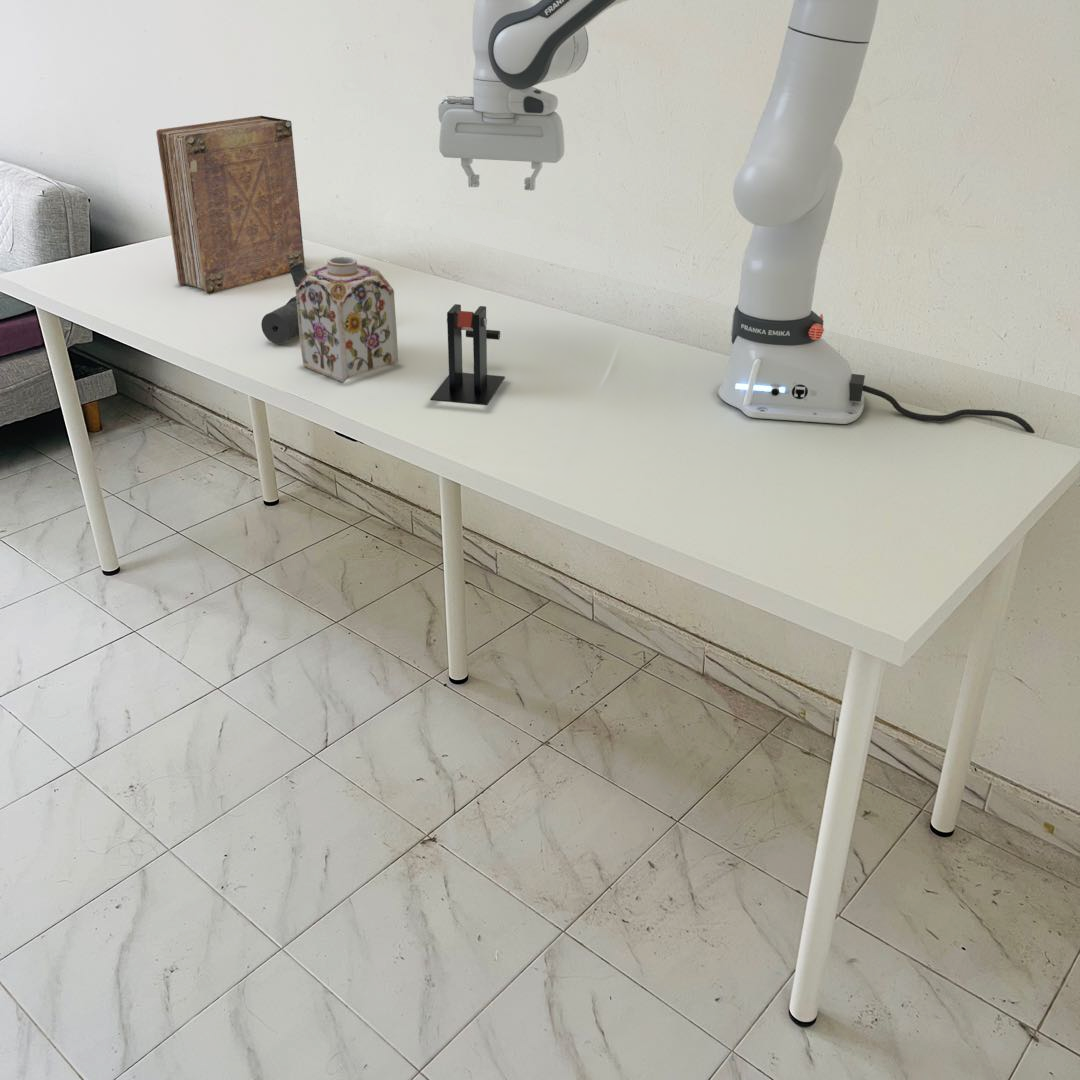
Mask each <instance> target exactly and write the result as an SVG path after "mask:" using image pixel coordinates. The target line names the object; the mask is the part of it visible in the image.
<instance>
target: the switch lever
mask: <svg viewBox="0 0 1080 1080" xmlns="http://www.w3.org/2000/svg"><path fill="white" fill-rule="evenodd" d="M474 313H475V312H473V311H465V310H461V311H459V313H458V322H457V327H458V328H460V329H461V330H462V331H465V337H466V338H472V339H473V314H474ZM486 336H487V340H496V341H497V340H498V341H499V340H500V339H501V331H500V330H494V329H486Z"/></svg>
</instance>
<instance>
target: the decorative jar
mask: <svg viewBox="0 0 1080 1080" xmlns="http://www.w3.org/2000/svg"><path fill="white" fill-rule="evenodd" d="M326 264H327V265H324V266H320V267H317V268H314V269H311V270H310V271H309V273H308V272H307V276H306V277H305V278H304V279H303V280H302V282H301V283H300V284H299V286H298V287H296V289H295V296H296V300H297V311H298V323H299V343H300V349H301V350H300V352H301V359H302V365H303V367H304V368H307V369H309V370H311V371H313V372H316V373H319V374H320V375H323V376H325V377H329V378H331V379H333V380H336V381H339V382H341V383H345V382H346V381H347V380H348V379H349V378H350V377H353V376H356V375H359V374H362V373H365V372H369V371H372V370H374V369H379V368H382V367H383V366H386V365H390V364H394V363H398V362H399V354H398V353H399V352H398V351H399V350H398V333H397V332H398V331H397V316H396V304H395V303H396V302H395V301H396V300H395V290H394V288H393V286H392V285H390V283H389V281H387V280H386V278H385V276H383V274H382V273H381V271H380V270H378V269H376V268H374V267H371V266H367V265H365V264H358V261H357V259H356V258H354V257H349V256H335V257H332V258H329V259H327V263H326Z"/></svg>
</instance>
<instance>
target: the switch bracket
mask: <svg viewBox="0 0 1080 1080" xmlns="http://www.w3.org/2000/svg"><path fill="white" fill-rule="evenodd" d="M459 311H462V305H461V304H460V303H459V304H457V303H455V304H453V305H452V307H450V309H449V310H448V311H447V312H446V324H447V354H448V357H447V358H448V359H447V360H448V375H447V377H445V379H444V380H443V382H442V383H441V384H440V386H439V387H438V388H437V390H436V391H435V392H434V393H433V395H432V396H431V397H430V399H429V400H430V401H436V402H446V403H448V402H449V403H457V404H469V405H480V406H488V404H489V403H490V402H491V400H492V398H493V397H494V395H495V394H496V392H497V391H498V389H499V388H500V386H501V384H502V383H503V381H504V380H505V378H506V376H505V375H493V374H488V349H487V348H488V345H487V344H488V343H487V341H488V339H487V336H486V330H487V325H488V318H487V306H485V305H484V306H483V305H479V306H478V308H477V309H476V310H475V311H474V312H473V313H474V314H473V338H472V343H473V344H472V347H473V349H472V351H473V373H471V372H464V371H463V339H462V338H463V336H462V335H463V334H462V333H463V330H461V329H460V328H458V327H457V322H458V313H459Z"/></svg>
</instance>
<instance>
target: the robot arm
mask: <svg viewBox="0 0 1080 1080" xmlns="http://www.w3.org/2000/svg"><path fill="white" fill-rule="evenodd" d="M627 1H628V0H474V4H473V12H472V31H471V33H472V35H471V36H472V41H471V43H472V51H473V54H474V55H473V56H474V70H473V73H472V89H473V90H472V95H473V96H455V95H448V96H446V98H444V99H442V100H441V101H440V102H439V104H438V108H437V110H438V111H437V113H438V120H439V122H440V128H439V143H438V149H439V153H440V154H441V155H442V156H443V158H450V159H451V158H452V159H460V165H461V168H462V169H463V171H464V173H465V175H466V176H467V184H468V188H478V187H480V174H475V172H474V170H473V168H472V166H471V165H472V164H473V160H486V161H487V160H488V161H489V160H490V161H506V162H507V161H508V162H525V163H526V162H528V163H530V165H531V167H530V168H531V169H532V170H533V172H532V174H531V176H530V177H528V176H527V177H525V178H524V191H535V190H536V178H537V177H538V175H539V174H540V172H541V170H542V168H543V163H547V164H548V163H549V164H557V163H558V162H560V161H561V160H562V158H563V157H564V155H565V133H564V124H563V121H562V118H561V116H560V115H559V113H557V112H556V110H557V108H558V104H559V99H558V97H557V96H556V95H555V94H553V93H550V92H547V91H545V90H542V89H540V88H537V87H534V86H537V85H539V84H542V83H546V82H551V81H555V80H559V79H563V78H566V77H568V76H570V75H572V74H574V73H576V72H577V71H579V70H580V69H581V68H582V67H583V64H584V63H585V62H586V60H587V59H586V58H587V56H588V52H589V36H588V32H587V28H586V26H588V25H589V24H590V23H592V22H593V21H594V20H595V19H597V18H598V17H599V16H601V15H602V14H603V13H605V12H606V11H608V10H609V9H612V8H613V7H615V6H617V5H620V4H622V3H623V2H624V3H625V2H627ZM879 2H880V0H793V4H792V9H791V12H790V16H789V20H788V24H787V27H786V32H785V36H784V40H783V44H782V48H781V52H780V56H779V60H778V64H777V68H776V72H775V75H774V79H773V83H772V86H771V89H770V92H769V96H768V98H767V101H766V103H765V105H764V108H763V111H762V113H761V115H760V118H759V120H758V123H757V125H756V128H755V131H754V133H753V136H752V139H751V142H750V144H749V147H748V150H747V153H746V156H745V158H744V160H743V163H742V164H741V166H740V168H739V171H738V172H737V174H736V177H735V179H734V182H733V188H732V197H733V201H734V205H735V207H736V209H737V211H738V213H739V214H740V215H741V216H742V217H743V218H744V220H746V221H747V222H749V223H751V224H753V227H752V231H751V233H750V237H749V240H748V243H747V246H746V248H745V250H744V253H743V256H742V263H741V271H740V281H739V291H738V300H737V305H736V307H734V311H733V314H732V322H731V332H730V336H731V349H730V354H729V358H728V362H727V366H726V369H725V373H724V376H723V379H722V382H721V384H720V387H719V388H718V390H717V391H718V392H717V393H718V396H719V398H720V399H721V400H722V401H724V402H725V403H726V404H728V405H730V406H732V407H734V408H736V409H739V410H740V411H741V412H742V413H743V414H744V415H745V416H747V417H749V418H751V419H753V418H754V419H765V420H778V421H793V422H794V421H795V422H809V423H821V424H823V423H824V424H839V425H847V424H850V423H853V422H854V421H856V420H858V419H859V418H860V417H861V416H862V414H863V412H864V409H865V408H864V407H865V397H864V394H863V392H865V393H868V394H871V395H874V396H877V397H879V398H881V399H884V400H886V401H887V402H889V403H890V404H891V405H892V407H893V408H894V409H895V410H896V411H897V412H898V413H900V414H901V415H904V416H906V417H909V418H912V419H914V420H918V421H919V420H920V421H929V422H946V421H951V420H954V419H956V418H959V417H963V416H980V417H981V416H983V417H998V418H999V417H1000V418H1004V419H1009V420H1011V421H1013V422H1015V423H1017V424H1018V425H1019V426H1021V427H1022V428H1023V429H1024V430H1025V431H1026V432H1027V433H1029V434H1035V430H1034V428H1033V427H1032V426H1031V425H1030V423H1028V422H1027V421H1026V420H1025V419H1024V418H1022V417H1020V416H1018V415H1017V414H1014V413H1013V412H1007V411H1003V410H996V409H995V410H994V409H975V408H973V409H972V408H968V409H967V408H966V409H965V408H964V409H959V410H955V411H954V412H950V413H948V414H923V413H917V412H914V411H911V410H908V409H906V408H904V407H903V406H901V404H900V403H899V402H898V401H897V399H895V398H894V396H891V394H889V393H887V392H885V391H882V390H880V389H877V388H874V387H872V386H868V385H866V384H865V378H866V375H865V374H856V373H852V370H851V366H850V363H849V361H848V360H847V359H846V358H845V357H844V356H843V355H842V354H840V353H839V352H838V351H837V350H836V349H835V348H833V346H832V345H830V344H829V343H828V342H827V341H826V340H825V339H824V338H823V334H824V332H825V331H824V330H825V329H824V315H823V313H820V315H818V314H817V313H816V312H814V311H813V300H814V293H815V288H816V281H817V272H818V266H819V260H820V257H821V252H822V248H823V245H824V242H825V239H826V235H827V231H828V227H829V224H830V219H831V216H832V212H833V207H834V203H835V198H836V194H837V189H838V186H839V183H840V180H841V177H842V174H843V168H844V166H843V165H844V164H843V156H842V154H841V151H840V149H839V148H838V146H837V145H836V144H835V140H836V138H837V136H838V133H839V131H840V129H841V126H842V125H843V122H844V120H845V118H846V116H847V113H848V111H849V110H850V109H851V106H852V104H853V101H854V98H855V93H856V90H857V86H858V83H859V80H860V76H861V73H862V69H863V65H864V63H865V58H866V55H867V53H868V52H867V51H868V48H869V44H870V41H871V37H872V34H873V30H874V26H875V21H876V17H877V11H878V7H879Z"/></svg>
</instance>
